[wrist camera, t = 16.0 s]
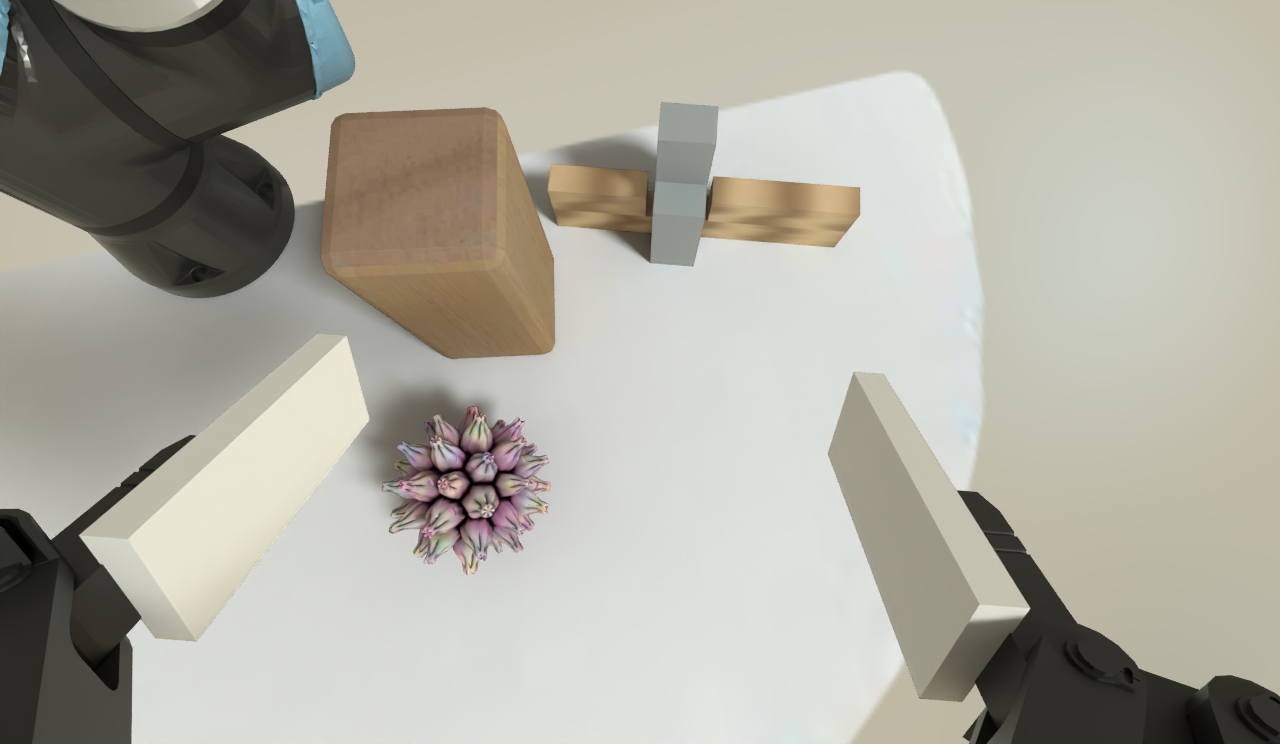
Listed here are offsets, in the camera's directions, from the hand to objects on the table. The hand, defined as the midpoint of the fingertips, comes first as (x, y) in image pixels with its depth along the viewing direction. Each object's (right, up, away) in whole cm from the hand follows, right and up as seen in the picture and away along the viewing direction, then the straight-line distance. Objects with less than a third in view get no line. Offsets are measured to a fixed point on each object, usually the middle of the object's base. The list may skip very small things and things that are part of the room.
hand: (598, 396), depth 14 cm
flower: (-11, -9, +31) cm, 34 cm away
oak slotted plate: (+6, +15, +36) cm, 40 cm away
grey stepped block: (+4, +15, +36) cm, 39 cm away
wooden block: (-12, +7, +35) cm, 37 cm away
